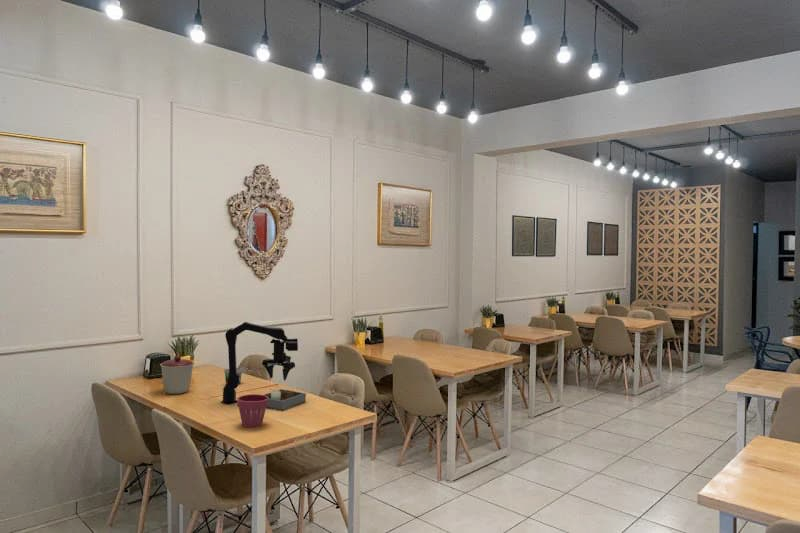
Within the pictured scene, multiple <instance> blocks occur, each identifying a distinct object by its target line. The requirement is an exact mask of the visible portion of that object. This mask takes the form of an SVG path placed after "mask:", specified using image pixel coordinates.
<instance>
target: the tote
mask: <svg viewBox="0 0 800 533" xmlns="http://www.w3.org/2000/svg"><path fill="white" fill-rule="evenodd" d="M277 390H278V391H281V392H282V391H285V390H286V389H283V388H281V389H277ZM293 391H294V397H291V398H288V399H286V400H283V401H281V400H275V399H271V391H270V392H267V393H264V394H263V395H265V396H267V397H268V398H269V400H268V406H267V407H266V409H270V410H274V409H276V411H279V410H281V411H280V412H283V410H284V411H286V410H289V409H292V408H294V407H297V406H299V404H300V405H302V404H304V402H305V403H306V402H307V401H306V400H307V399H306V398H307V393H305V392H302V391H295V390H293ZM296 405H297V406H296ZM293 406H294V407H293ZM291 407H292V408H291ZM288 408H289V409H288ZM285 409H286V410H285Z"/></svg>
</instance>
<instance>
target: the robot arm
mask: <svg viewBox="0 0 800 533" xmlns="http://www.w3.org/2000/svg"><path fill="white" fill-rule="evenodd" d="M245 331H249V332H250V331H251V332H254V333H259V334H262V335H263V334H264V335H267V336H269V337H272V339H271V340H270V341H269V342H270V344H273V352H272V353H271V355H272V356H273V357H272V358H266V359H263V360H262V362H261V365H262V366H263V367H264V368H265V370H266V372H267V373H268V375H269V378H270V379H273V376H274V368H275V366H281V367H282V376H283V381H287V378H288V375H289V372H290V371H291V370H292V369H293V370H294V368H296V363H295V362H294V361H291V359H292V356H290V355H287V354H286V352H285V350H286V351H287V352H298V351H299V344H298V342H299V341H298V338H288V336H286V334H285V330H284V328H282V327H268V326H264V325H261V324H260V325H259V324H254V323H250V322H248V321H244V322H242V323H241V324H239V325H238V326H236V327H234V328H229V329H227V331H226V332H225V334H224V335H225V341H226V343H227V349H228V350H227V351H228V369H229V376H228V383H227V384H226V383H225V385H224V386H223V387H222V400H221V401H220V404H221V403H222V404H226V405H230V404H234V403H237V390H236V389H237V388H238V386H239V385H240V384H241V382H240V381H241V380H242V379H241V380H240V373H239V374H238V373H237V368H238V367H237V348H236V344H237V339H238V336H239V335H240V334H242V333H243V332H245ZM239 383H240V384H239ZM238 384H239V385H238Z"/></svg>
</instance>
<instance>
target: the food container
mask: <svg viewBox="0 0 800 533" xmlns="http://www.w3.org/2000/svg"><path fill="white" fill-rule="evenodd" d="M236 368H237V373H238V374H239V373H240V380H242V372H243V371H244V369H243V367H242V366H241V365H240V366H239V367H236ZM223 372H224V378H225V385H226V384H227V383H228V376H229V368H224V370H223ZM239 385H241V381H240V383H239Z"/></svg>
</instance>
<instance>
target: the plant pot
mask: <svg viewBox="0 0 800 533" xmlns="http://www.w3.org/2000/svg"><path fill="white" fill-rule="evenodd" d="M236 400H237V402H236V407H237V408H238V409H239V414H240V422H241V425H242V427H245V428H257V427H260V426H262V425H263V422H264V418H265V414H266V409H267V408H266V407H267V406H268V400H269V398H268V397H267V396H265V395H264V394H259V393H258V394H257V393H255V394H254V393H253V394H244V395H240V396H238V397H236Z"/></svg>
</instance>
